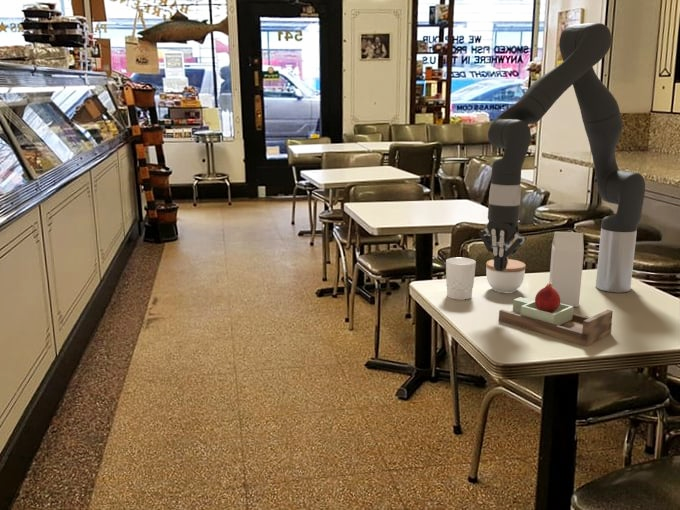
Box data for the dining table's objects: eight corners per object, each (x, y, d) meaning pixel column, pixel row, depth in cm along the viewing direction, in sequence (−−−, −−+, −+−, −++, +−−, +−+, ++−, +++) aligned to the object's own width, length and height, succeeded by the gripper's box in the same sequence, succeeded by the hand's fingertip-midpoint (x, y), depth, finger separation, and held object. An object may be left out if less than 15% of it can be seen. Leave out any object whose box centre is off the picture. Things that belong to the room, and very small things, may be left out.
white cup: (441, 298, 183) (443, 263, 181) (448, 290, 190) (449, 256, 188) (470, 302, 180) (472, 265, 178) (476, 294, 188) (478, 259, 185)
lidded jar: (480, 285, 196) (481, 253, 194) (516, 284, 197) (518, 252, 194) (491, 296, 186) (493, 263, 183) (529, 295, 186) (531, 262, 184)
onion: (555, 321, 159) (558, 288, 157) (531, 316, 162) (533, 284, 160) (561, 314, 164) (564, 282, 162) (537, 310, 167) (540, 279, 165)
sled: (525, 306, 172) (526, 294, 171) (572, 319, 163) (573, 306, 162) (505, 314, 166) (506, 302, 165) (553, 327, 157) (554, 314, 156)
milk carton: (578, 307, 176) (585, 236, 172) (550, 305, 178) (556, 234, 173) (575, 299, 183) (581, 230, 178) (547, 297, 184) (553, 229, 180)
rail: (524, 310, 174) (525, 289, 173) (610, 333, 158) (613, 310, 156) (498, 320, 166) (499, 298, 165) (586, 346, 150) (588, 322, 149)
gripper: (536, 203, 164) (531, 273, 168) (490, 197, 173) (486, 262, 178) (519, 207, 159) (514, 278, 163) (473, 200, 168) (469, 267, 173)
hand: (499, 270), depth 170 cm, fingers closed
